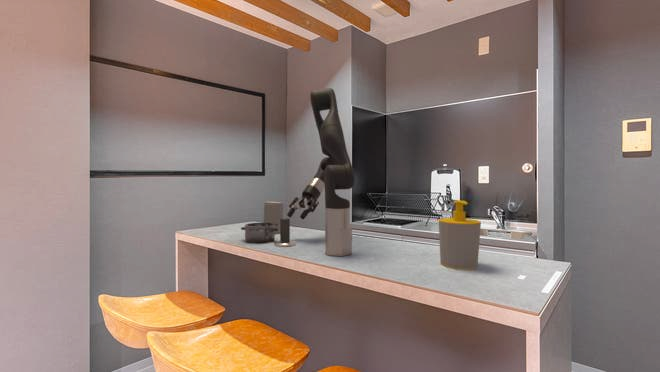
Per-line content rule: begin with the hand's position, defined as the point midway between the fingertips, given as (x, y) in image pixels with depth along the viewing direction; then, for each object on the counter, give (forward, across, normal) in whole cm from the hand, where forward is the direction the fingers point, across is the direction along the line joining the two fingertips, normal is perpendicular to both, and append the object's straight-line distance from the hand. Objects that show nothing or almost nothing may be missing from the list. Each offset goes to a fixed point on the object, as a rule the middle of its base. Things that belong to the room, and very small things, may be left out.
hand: (295, 217), depth 149 cm
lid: (+12, 0, +4) cm, 13 cm away
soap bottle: (-1, +67, +17) cm, 69 cm away
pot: (+13, -15, +2) cm, 20 cm away
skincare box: (+2, -27, +15) cm, 31 cm away
